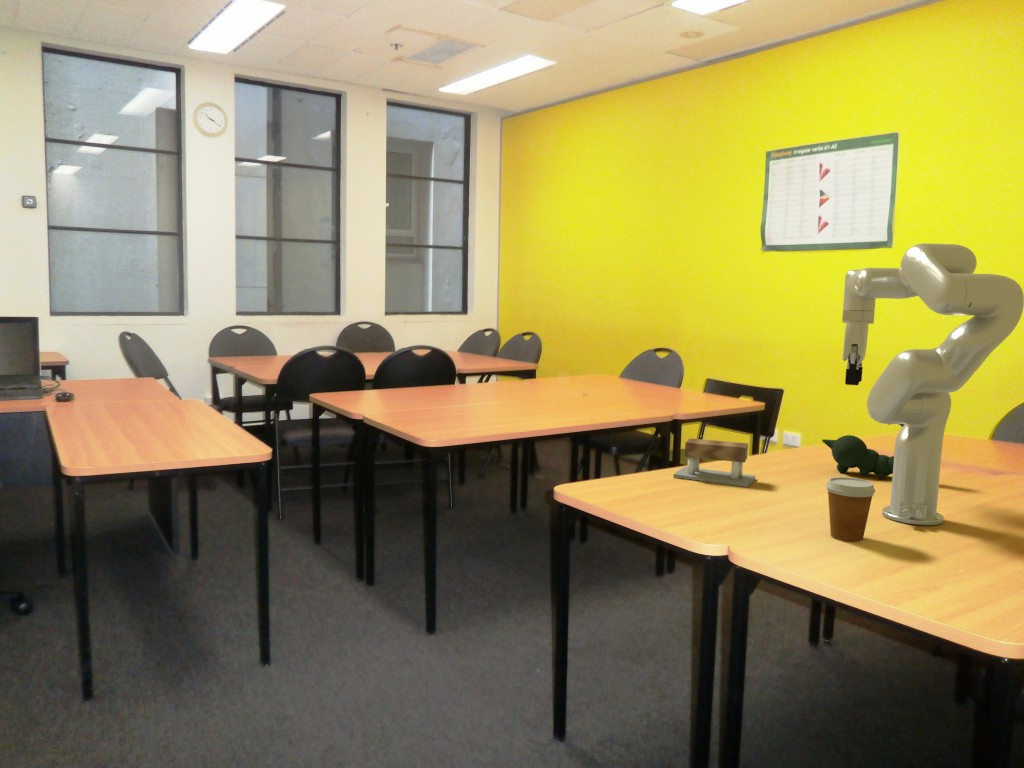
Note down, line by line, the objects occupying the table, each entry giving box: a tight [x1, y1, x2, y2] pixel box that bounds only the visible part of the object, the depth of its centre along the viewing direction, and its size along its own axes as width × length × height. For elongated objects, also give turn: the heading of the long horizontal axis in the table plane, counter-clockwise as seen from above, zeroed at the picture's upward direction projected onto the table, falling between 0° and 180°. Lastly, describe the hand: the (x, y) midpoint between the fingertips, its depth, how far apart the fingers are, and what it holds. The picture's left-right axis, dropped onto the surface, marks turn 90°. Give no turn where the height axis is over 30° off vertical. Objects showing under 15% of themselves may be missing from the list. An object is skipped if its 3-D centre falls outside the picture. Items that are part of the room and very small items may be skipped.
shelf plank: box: [684, 437, 749, 463], centre depth 211 cm, size 16×7×4 cm, turn 68°
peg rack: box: [673, 457, 756, 488], centre depth 211 cm, size 11×20×6 cm, turn 62°
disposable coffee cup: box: [825, 476, 876, 543], centre depth 160 cm, size 10×10×12 cm
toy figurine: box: [821, 424, 904, 480], centre depth 218 cm, size 9×19×25 cm
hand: (853, 383), depth 200 cm, fingers open, 9 cm apart
